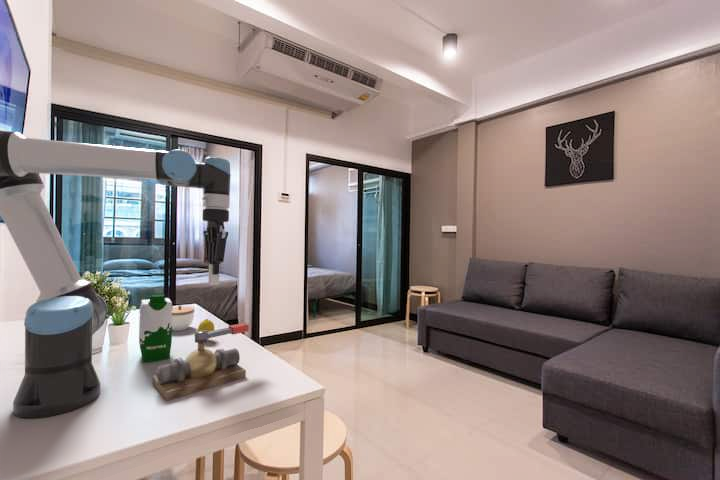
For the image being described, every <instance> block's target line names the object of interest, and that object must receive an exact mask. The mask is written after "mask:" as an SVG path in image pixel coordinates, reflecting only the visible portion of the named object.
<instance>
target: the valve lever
mask: <svg viewBox="0 0 720 480" xmlns="http://www.w3.org/2000/svg"><path fill="white" fill-rule="evenodd" d="M249 325H250V324H249V323H246V322H241V323H237V324H230V325H228V327H224V328H221V329H220V328H219V329H214V331H209V332H208V331H206V330H201V331H198V330H197V331H194V342H195V343H197V344H198V343H203V342H208V341H209V339H211V338H216V337H217V338H218V337H222V336H225V335H226V336H227V335H230V334H231V335H237V334H242V333H246V332H249V330H250V329H249V327H250V326H249ZM208 338H209V339H208Z"/></svg>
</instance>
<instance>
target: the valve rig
mask: <svg viewBox="0 0 720 480" xmlns="http://www.w3.org/2000/svg"><path fill="white" fill-rule="evenodd" d="M239 363H240V352H239V350H238V349H237V348H231V349H227V350H225V349H224V348H219V349H218V348H217V349H216V350H215V351H214V352H213V350H210V349H209V348H205V342H203V343H197V349H195V350H193V351H191V352H190V353H189V354H188V355H187V356H186V358H185V359H184V360H183V358H181V357H179V358H175V359H173V361H172V362H171V363H167V364H163V365H158V366H157V368H156V375H152V376H151V377H152V378H151V379H152V380H151V385H153V387H154V388H155V389H156V390H157V391H158V392H159V394H160V395H161V396H162V397H163V398H164V399H165V400H166V401H170V400H174V399H177V398H180V397H184V396H187V395H190V394H193V393H196V392H199V391H200V392H201V391H203V390H207V389H210V388H213V387H217V386H220V385H223V384H227V383H230V382H233V381H237V380H240V379H243V378H246V377H247V376H246V373H247V372H246V371H247V369H245V368H243V367H242V366H240V365H239Z"/></svg>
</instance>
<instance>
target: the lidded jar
mask: <svg viewBox="0 0 720 480" xmlns="http://www.w3.org/2000/svg"><path fill="white" fill-rule="evenodd" d="M194 317H195V307H192V306H182V305H181V304H180V305H178V306H177V307H175V306H174V307H172V331H174V332H175V331H184V330H187V329H188V328H189V327H190V326H191V324H193V321H194Z"/></svg>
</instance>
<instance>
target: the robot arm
mask: <svg viewBox="0 0 720 480" xmlns="http://www.w3.org/2000/svg"><path fill="white" fill-rule="evenodd" d="M40 174H49V175H63V176H64V175H65V176H80V177H81V176H83V177H100V178H101V177H102V178H118V179H134V180H135V179H136V180H150V181H153V180H154V181H158V183H159V184H160V185H163V186H169V187H179V188H180V187H181V188H182V187H183V188H196V189H203V193H202V194H203V196H202V197H201V200H202V201H203V202H202V207H204V208H203V210H202V220H203V222H207V225H206V230H203V236H204V250H205V251H204V252H205V260H206V261H207V262H208V263H207V264H208V285H209V286H215V285H216V286H219V285H220V268H221V267H220V265H221V264H222V263H224V260H225V252H226V247H227V239H228V237H229V231H225V224H224V223H228V222H229V220H230V218H229V217H230V211H229V209H230V205H231V204H230V203H231V202H230V197H231V195H230V193H231V192H230V191H231V190H230V189H231V163H230V161H229V160H228V159H225V158H222V157H217V156H215V157H213V156H208V157H205V158H204V161H203V162H201V163H200V162H196V161H195V159H194V157H193V156H192V155H191V154H190V153H189V152H187V151H185V150H182V149H172V150H169V151H167V150H155V149H148V148H147V149H146V148H136V147H128V146H127V147H126V146H125V147H124V146H115V145H113V146H112V145H106V144H105V145H103V144H92V143H84V142H76V141H75V142H73V141H63V140H54V139H52V140H51V139H42V138H32V137H31V138H29V137H25V136H24V135H23V134H21V133H20V132H18V131H11V130H10V131H7V130H1V129H0V218H2V220H3V222H4V224H5V226H6V227H7V228H6V229H7V230H8V232H9V234H10V236H11V239H13V242H14V243H15V245H16V247H17V249H18V251H19V253H20V255H21V257H22V259H23V261H24V263H25V264H26V267H27V269H28V270H29V272H30V275H31V276H32V279H33V281H34V282H35V284H36V286H37V288H38V290H39V292H40V293H39V296H38V297H37V299H36V302H34V303H32V304H31V305H30V306H29V307H28V308H27V310H26V312H25V318H24V324H23V326H24V328H25V329H24V330H25V332H24V335H25V336H24V337H25V338H24V345H25V346H24V376H23V378H22V380H21V383H20V385H19V388H18V390H17V392H16V395H15V397H14V400H13V404H12V410H13V411H12V413H13V415H14V414H15V415H14V416H16V417H19V418H23V419H24V418H25V419H37V418H45V417H46V418H47V417H52V416H56V415H61V414H63V413H68V412H71V411H73V410H76V409H79V408H81V407H84V406H86V405H88V404H89V403H92V402H93V401H94V400H96V399H97V398H98V397H99V396H100V394H101V381H100V379H99V376H98V373H97V371H96V369H95V367H94V365H93V362H92V360H93V358H92V357H93V356H92V355H93V335H94V334H95V333H96V332H97V331H98V330H100V329H101V327H103V325H104V323H105V322H106V320H107V315H108V304H107V301H106V300H105V299H104V298H103V297H102V296H101V295H100V294H98V293H97V292H96V290H95V287H94V285H93V284H92V282H91V281H90V280H86V279H83V278H82V277H81V275H80V273H79V271H78V269H77V266H76V264H75V262H74V261H73V258H72V257H71V254H70V252H69V250H68V248H67V246H66V243H65V242H64V240H63V238H62V236H61V234H60V232H59V230H58V228H57V226H56V223H55V222H54V219H53V217H52V215H51V213H50V211H49V209H48V207H47V204H46V203H45V201H44V199H43V197H42V195H41V193H42V191H43V189H44V188H45V184H44V182H43V179H42V178H41V176H40Z"/></svg>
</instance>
